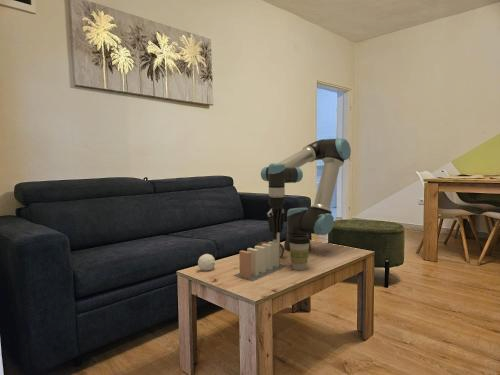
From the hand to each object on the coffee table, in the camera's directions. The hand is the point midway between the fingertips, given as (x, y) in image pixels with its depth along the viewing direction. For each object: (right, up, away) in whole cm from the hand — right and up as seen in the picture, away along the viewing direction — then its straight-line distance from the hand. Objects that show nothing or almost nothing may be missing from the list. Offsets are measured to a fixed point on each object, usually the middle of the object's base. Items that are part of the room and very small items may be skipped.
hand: (276, 246), depth 158 cm
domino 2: (-11, -10, -12) cm, 19 cm away
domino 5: (-1, -9, -1) cm, 9 cm away
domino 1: (-14, -10, -16) cm, 24 cm away
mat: (-7, -10, -8) cm, 15 cm away
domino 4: (-5, -9, -5) cm, 11 cm away
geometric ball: (-32, -11, -5) cm, 34 cm away
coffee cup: (+10, -10, -4) cm, 15 cm away
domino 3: (-8, -10, -9) cm, 15 cm away
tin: (-3, -9, +13) cm, 16 cm away
